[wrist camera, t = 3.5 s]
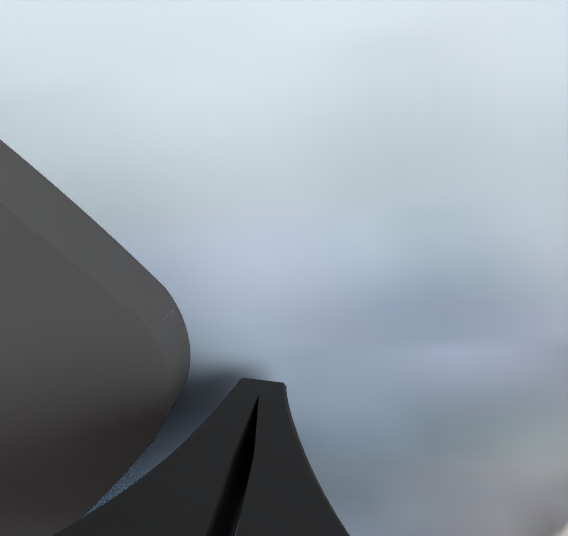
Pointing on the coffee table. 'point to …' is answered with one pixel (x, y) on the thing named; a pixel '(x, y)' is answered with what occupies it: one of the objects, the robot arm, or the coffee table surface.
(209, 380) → the coffee table surface
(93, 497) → the media streaming box
